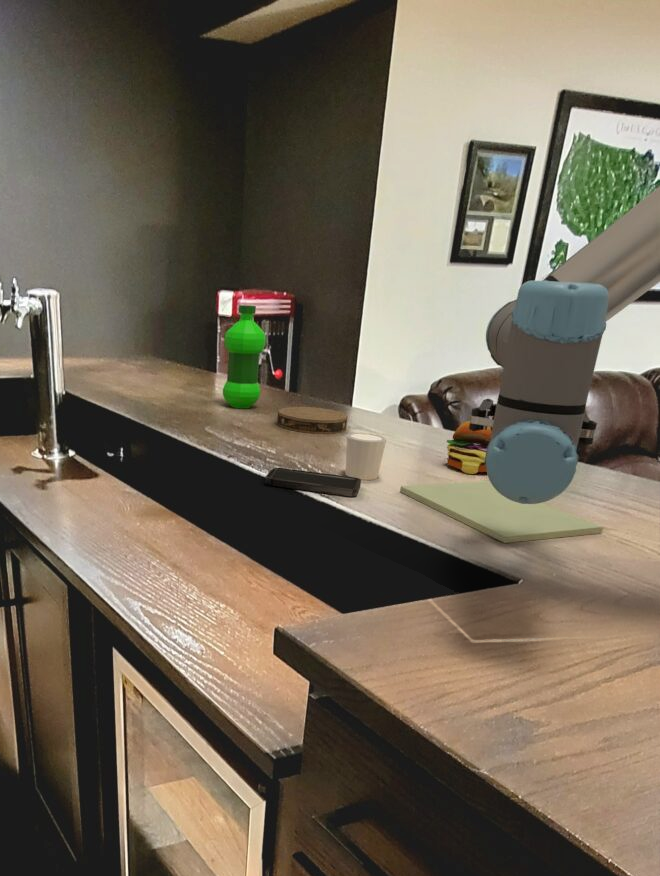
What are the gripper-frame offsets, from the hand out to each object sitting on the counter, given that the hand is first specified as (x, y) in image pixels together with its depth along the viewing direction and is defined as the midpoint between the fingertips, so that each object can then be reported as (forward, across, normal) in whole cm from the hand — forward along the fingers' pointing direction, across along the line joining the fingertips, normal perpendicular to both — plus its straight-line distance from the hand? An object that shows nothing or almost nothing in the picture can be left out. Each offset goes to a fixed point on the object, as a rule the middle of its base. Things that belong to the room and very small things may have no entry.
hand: (531, 405), depth 97 cm
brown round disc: (+55, -44, -18) cm, 73 cm away
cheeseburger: (+36, -7, -18) cm, 41 cm away
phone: (+6, -30, -18) cm, 36 cm away
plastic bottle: (+68, -66, -18) cm, 97 cm away
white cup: (+18, -25, -18) cm, 35 cm away
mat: (+9, -2, -18) cm, 20 cm away
